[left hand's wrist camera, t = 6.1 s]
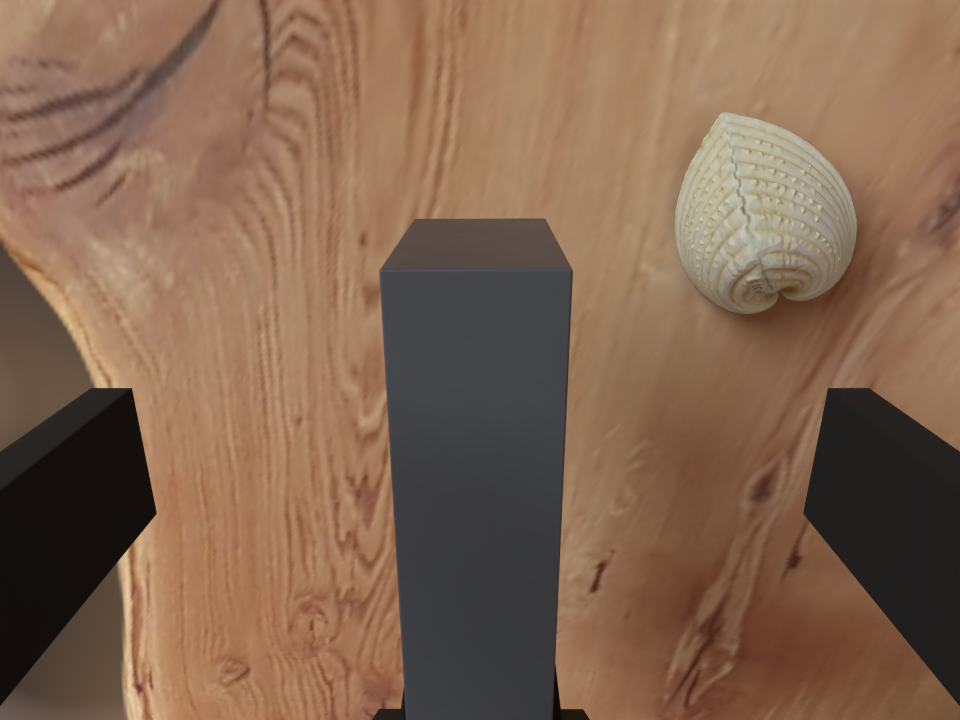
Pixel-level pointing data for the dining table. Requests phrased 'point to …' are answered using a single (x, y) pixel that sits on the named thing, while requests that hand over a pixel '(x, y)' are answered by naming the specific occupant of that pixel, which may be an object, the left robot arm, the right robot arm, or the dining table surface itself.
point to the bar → (477, 461)
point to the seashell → (762, 217)
